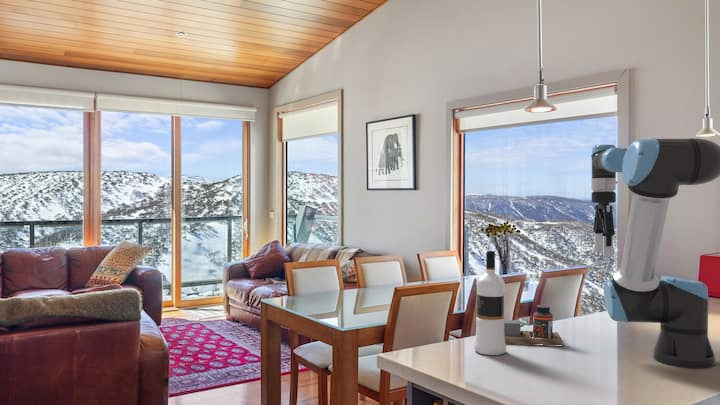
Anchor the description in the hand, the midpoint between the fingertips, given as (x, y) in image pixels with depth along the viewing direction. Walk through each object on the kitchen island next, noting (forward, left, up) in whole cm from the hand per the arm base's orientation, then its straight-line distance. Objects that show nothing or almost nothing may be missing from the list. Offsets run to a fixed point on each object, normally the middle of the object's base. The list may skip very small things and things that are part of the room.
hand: (603, 254), depth 194 cm
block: (-15, +31, -27) cm, 43 cm away
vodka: (-31, +38, -27) cm, 56 cm away
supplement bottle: (-15, +21, -27) cm, 37 cm away
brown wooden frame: (-15, +26, -27) cm, 40 cm away
